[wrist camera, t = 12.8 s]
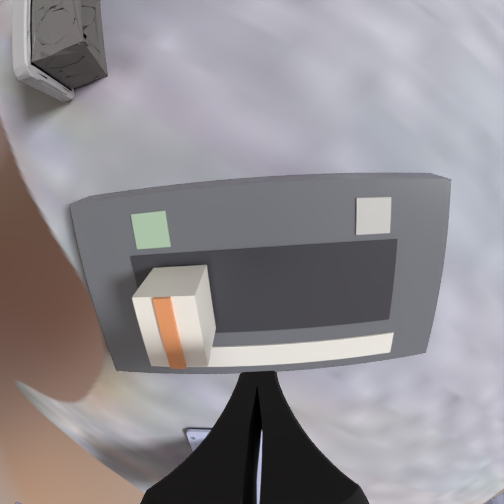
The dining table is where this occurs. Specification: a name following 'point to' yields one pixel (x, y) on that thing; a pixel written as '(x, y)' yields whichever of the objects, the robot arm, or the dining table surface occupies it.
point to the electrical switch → (57, 45)
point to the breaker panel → (276, 265)
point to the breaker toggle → (176, 316)
